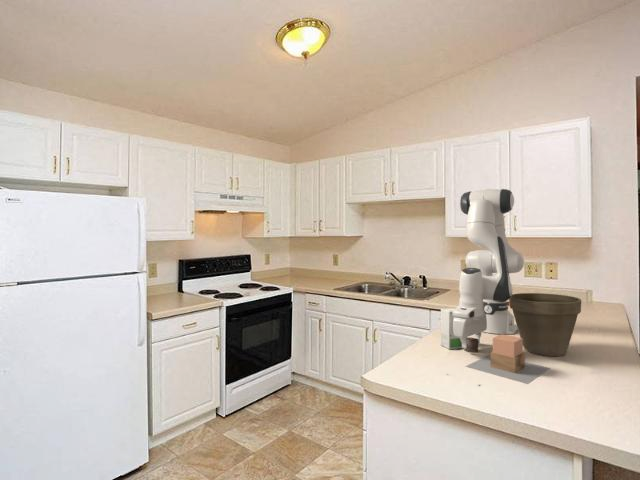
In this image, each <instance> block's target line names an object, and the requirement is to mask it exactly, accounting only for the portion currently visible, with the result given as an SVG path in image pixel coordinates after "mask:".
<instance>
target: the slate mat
mask: <svg viewBox="0 0 640 480" xmlns="http://www.w3.org/2000/svg"><path fill="white" fill-rule="evenodd" d="M464 367H466V368H469V369H472V370H475V371H480V372H484V373H486V374H491V375H494V376H497V377H501V378H503V379H508V380H512V381H515V382H519V383H522V384H524V385H525V384H526V385H529V384H530V383H532V382H533V381H534V380H535V379H538V378H539V377H540V376H542V375H543V374H544V373H546V372H547V371H549V370H551V367H548V366H543V365H539V364H535V363H532V362H531V363H530V362H527V361H525V368H523V369H522V370H520V371H518V372H517V373H511V372H508V371H504V370H500V369H496V368H493V367H491V353H490V354H488V355H486V356H484V357H481V358H480V359H478V360H476V361H474V362H472V363H470V364H468V365H465V366H464Z"/></svg>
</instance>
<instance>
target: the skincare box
mask: <svg viewBox="0 0 640 480" xmlns="http://www.w3.org/2000/svg"><path fill="white" fill-rule="evenodd" d="M456 308H457V307H456ZM456 308H440V342H439V343H440V346H441V347H444V348H445V349H447V350H455V349H457V350H458V349H463V348H462V343H461V340H460V338H458V337H455V336H454V333H453V320H454V317H455V316H453V310H455V309H456Z"/></svg>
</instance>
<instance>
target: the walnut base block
mask: <svg viewBox="0 0 640 480" xmlns="http://www.w3.org/2000/svg"><path fill="white" fill-rule="evenodd" d="M490 354H491V367H493V368H496V369H500V370H504V371H508V372H511V373H517V372H518V371H520V370H522V369H523V368H525V362H526V361H525V360H526V354H525V352H523V353H522V354H520V355H518V356H516V357H510V356H505V355H501V354H497V353H493V351H491V352H490Z"/></svg>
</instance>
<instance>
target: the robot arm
mask: <svg viewBox="0 0 640 480" xmlns="http://www.w3.org/2000/svg"><path fill="white" fill-rule="evenodd" d="M514 204H515V197H514V194H513V192H512V191H511V190H509V189H505V188H501V189H493V188H492V189H490V188H489V189H488V188H487V189H483V190H481V189H480V190H475V191H466V192H464V193H463V194H462V195H461V196H460V200H459V206H460V210H461V212H462V213H463V214H465V215H467V218H466V225H465V227H466V228H465V235H466V237H467V239H468V241H470V243H472V244H473V245H475V246H477V247H479V248H482V249H477V250H476V249H475V250H472V251H469V252H468V253H467V254H466V256H465V259H464V260H465V266H466V268H463V269H461V271H460V274H459V280H458V281H459V283H458V285H459V286H458V292H459V299H458V305H457V306H456V309H455V310H453V316H455V317H454V320H453V333H454V336H455V337H458V338H460V340H461V343H462V348H461V349H464V348H468V343H467V341H466V340H467V338H468V337H471V336H473V335H474V338H476V339H478V344H480V341H481V336H482V333H483V332H484V333H488V334H495V335H496V334H497V335H501V334H503V335H514V334H515V333H517V332H518V328H517V324H515V317H514V314H512V313H511V312H510V310H509V307H510V304H509V299H510V298H511V296H512V294H513V285H512V282H511V281H512V280H511V277H510V274H516V273H519V272H521V271H522V269H523V267H524V265H525V259H524V257H523V255H522V254H521V253H520V252H519V251H518V250H516V249H515V248H513V247H512V245H511V244H510V243H509V241H508V239H507V235H506V228H505V227H506V225H505V224H506V223H505V214H507V213H509V212H511V211H512V210H513V207H514ZM493 274H496V275H495V276H494V275H493Z"/></svg>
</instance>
